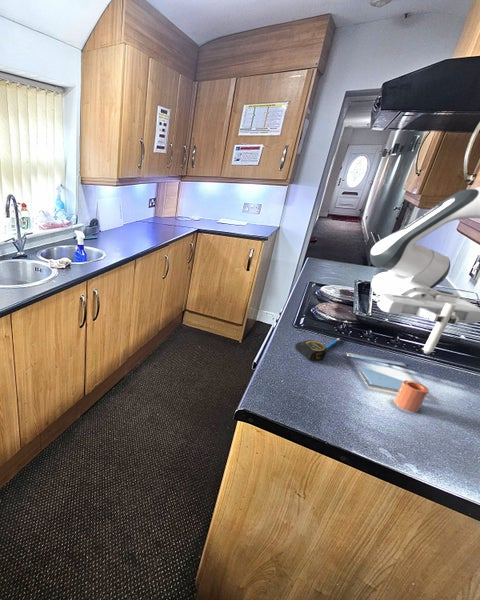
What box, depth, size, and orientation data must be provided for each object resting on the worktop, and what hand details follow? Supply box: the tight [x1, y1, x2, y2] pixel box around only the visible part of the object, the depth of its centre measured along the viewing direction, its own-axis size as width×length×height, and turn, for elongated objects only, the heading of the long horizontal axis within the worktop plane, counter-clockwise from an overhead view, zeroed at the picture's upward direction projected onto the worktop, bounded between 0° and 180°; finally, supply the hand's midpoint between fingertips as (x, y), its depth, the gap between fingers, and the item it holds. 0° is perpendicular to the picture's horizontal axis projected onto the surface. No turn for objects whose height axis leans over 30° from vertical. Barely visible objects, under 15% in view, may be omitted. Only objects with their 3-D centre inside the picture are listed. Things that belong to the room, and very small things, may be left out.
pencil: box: [325, 337, 341, 350], centre depth 103 cm, size 1×17×1 cm, turn 125°
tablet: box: [344, 352, 439, 401], centre depth 90 cm, size 14×18×1 cm
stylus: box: [423, 302, 456, 355], centre depth 82 cm, size 2×2×14 cm
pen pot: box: [393, 380, 430, 413], centre depth 77 cm, size 4×4×6 cm
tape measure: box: [294, 339, 328, 362], centre depth 98 cm, size 7×7×4 cm
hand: (446, 320), depth 80 cm, fingers closed on stylus, 2 cm apart
